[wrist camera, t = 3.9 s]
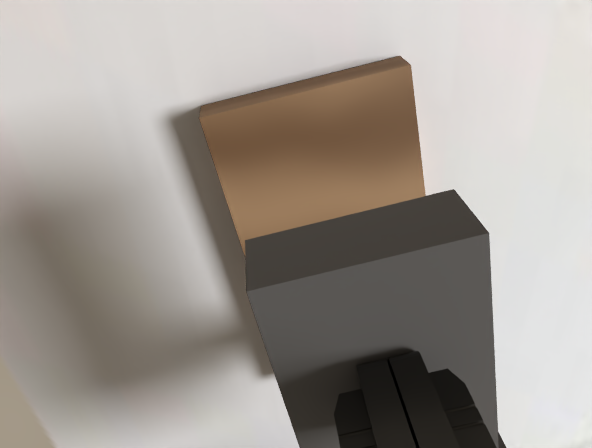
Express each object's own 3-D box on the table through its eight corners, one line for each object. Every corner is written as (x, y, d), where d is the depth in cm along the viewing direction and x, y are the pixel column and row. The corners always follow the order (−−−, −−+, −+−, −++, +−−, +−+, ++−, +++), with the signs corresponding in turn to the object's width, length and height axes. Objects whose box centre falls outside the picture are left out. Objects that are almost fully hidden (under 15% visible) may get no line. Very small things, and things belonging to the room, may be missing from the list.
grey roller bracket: (224, 244, 13) (222, 297, 11) (475, 183, 12) (513, 227, 11) (333, 557, 20) (342, 619, 18) (494, 521, 19) (519, 580, 18)
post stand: (201, 105, 21) (73, 775, 5) (400, 55, 21) (1013, 571, 4) (287, 372, 29) (356, 985, 12) (434, 337, 28) (706, 915, 12)
